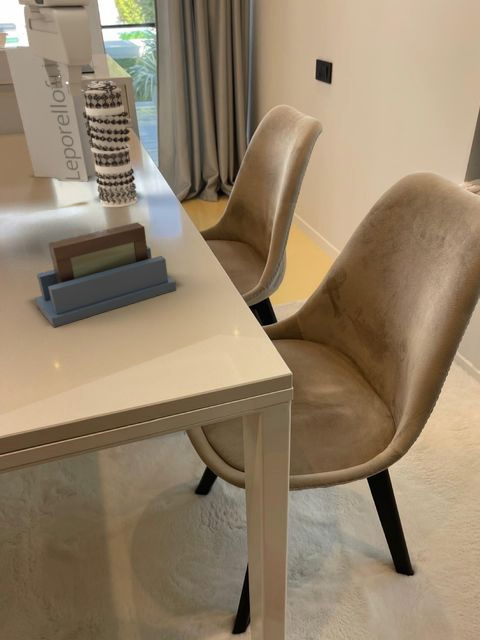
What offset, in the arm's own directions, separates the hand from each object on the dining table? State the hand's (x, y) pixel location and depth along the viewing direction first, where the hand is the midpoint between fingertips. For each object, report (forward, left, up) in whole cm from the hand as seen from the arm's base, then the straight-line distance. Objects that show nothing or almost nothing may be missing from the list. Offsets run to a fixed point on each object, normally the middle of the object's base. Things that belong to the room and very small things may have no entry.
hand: (65, 91), depth 91 cm
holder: (-6, -22, -27) cm, 35 cm away
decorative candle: (+15, +22, -27) cm, 38 cm away
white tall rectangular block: (+12, +49, -27) cm, 58 cm away
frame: (-6, -22, -26) cm, 34 cm away
